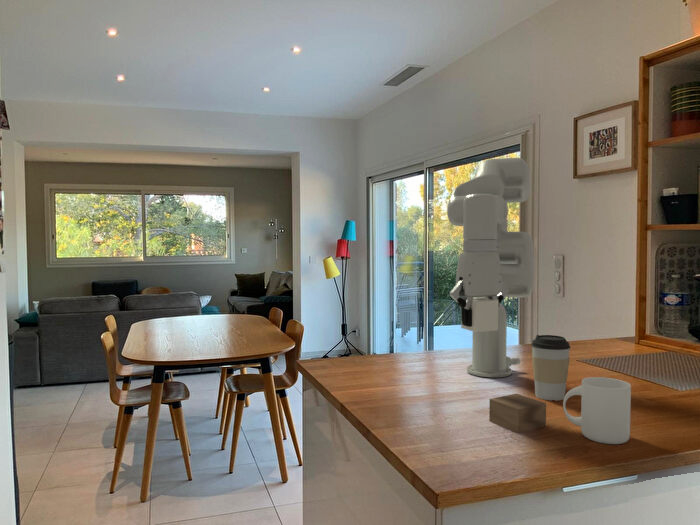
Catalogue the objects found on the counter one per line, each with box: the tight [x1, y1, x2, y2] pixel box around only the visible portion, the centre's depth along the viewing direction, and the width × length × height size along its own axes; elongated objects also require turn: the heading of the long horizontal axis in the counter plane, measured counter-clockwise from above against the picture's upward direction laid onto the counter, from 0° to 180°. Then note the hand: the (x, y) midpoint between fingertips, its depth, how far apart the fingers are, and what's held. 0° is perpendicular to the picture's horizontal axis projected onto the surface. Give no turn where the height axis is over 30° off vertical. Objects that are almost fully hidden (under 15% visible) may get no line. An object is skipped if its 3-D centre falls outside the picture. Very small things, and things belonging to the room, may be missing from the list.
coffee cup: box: [530, 334, 571, 401], centre depth 130 cm, size 9×9×15 cm
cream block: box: [460, 297, 498, 333], centre depth 123 cm, size 6×6×7 cm
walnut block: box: [488, 393, 547, 434], centre depth 111 cm, size 8×8×5 cm
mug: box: [562, 376, 632, 445], centre depth 104 cm, size 9×12×11 cm
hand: (479, 324), depth 124 cm, fingers closed on cream block, 6 cm apart
